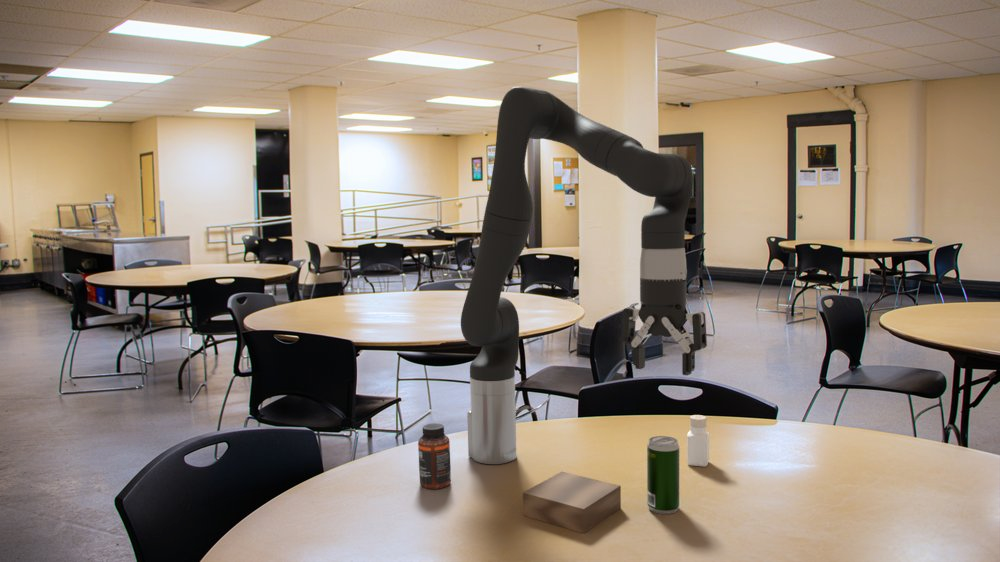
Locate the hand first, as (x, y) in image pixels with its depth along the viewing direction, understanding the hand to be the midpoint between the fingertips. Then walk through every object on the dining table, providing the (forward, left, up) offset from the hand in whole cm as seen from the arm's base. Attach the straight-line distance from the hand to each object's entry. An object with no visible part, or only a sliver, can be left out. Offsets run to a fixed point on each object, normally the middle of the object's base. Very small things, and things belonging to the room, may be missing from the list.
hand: (663, 371), depth 126 cm
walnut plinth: (-12, -10, -24) cm, 29 cm away
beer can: (0, 0, -24) cm, 24 cm away
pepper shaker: (-4, +24, -24) cm, 34 cm away
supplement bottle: (-40, -14, -24) cm, 49 cm away
